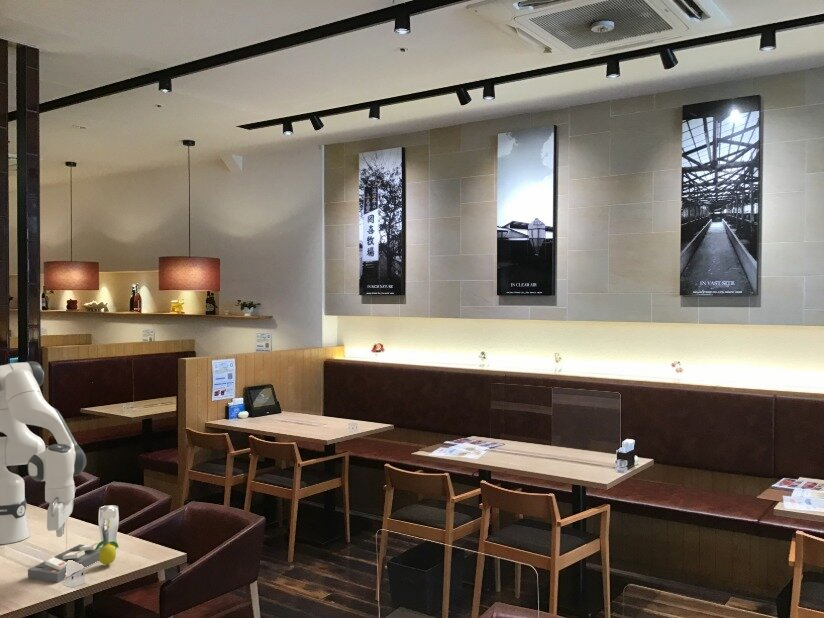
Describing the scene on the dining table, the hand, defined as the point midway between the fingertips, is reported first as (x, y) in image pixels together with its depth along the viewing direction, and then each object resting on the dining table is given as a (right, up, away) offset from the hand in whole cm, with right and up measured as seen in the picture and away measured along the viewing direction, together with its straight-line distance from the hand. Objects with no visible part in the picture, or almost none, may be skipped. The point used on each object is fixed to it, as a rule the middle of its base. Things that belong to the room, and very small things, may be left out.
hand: (60, 535), depth 245 cm
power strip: (-2, -14, +10) cm, 17 cm away
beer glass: (+5, -13, +28) cm, 31 cm away
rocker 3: (+3, -9, +17) cm, 19 cm away
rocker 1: (-2, -10, +1) cm, 10 cm away
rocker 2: (0, -10, +9) cm, 13 cm away
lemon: (+11, -14, +11) cm, 21 cm away
